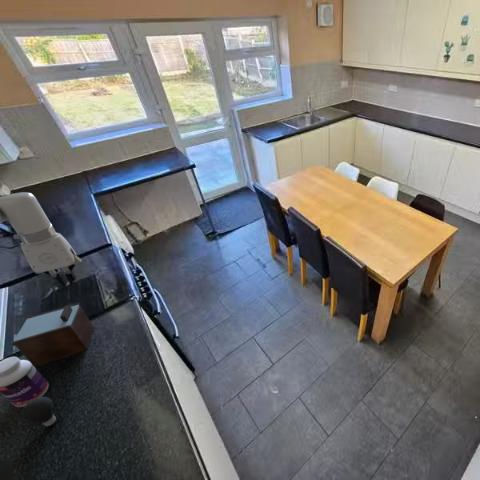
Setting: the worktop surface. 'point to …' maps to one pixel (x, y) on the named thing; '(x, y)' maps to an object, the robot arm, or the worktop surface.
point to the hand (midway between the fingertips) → (69, 282)
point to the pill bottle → (21, 381)
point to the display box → (58, 340)
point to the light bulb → (39, 411)
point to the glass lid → (47, 322)
